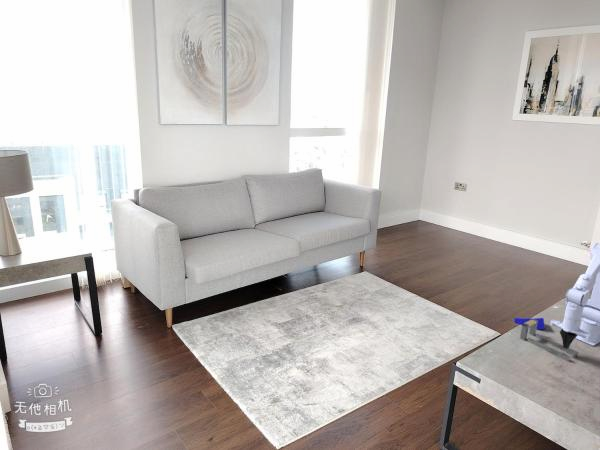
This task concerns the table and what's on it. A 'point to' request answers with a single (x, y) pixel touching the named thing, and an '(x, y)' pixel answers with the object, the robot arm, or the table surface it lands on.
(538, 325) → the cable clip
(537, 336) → the guide channel
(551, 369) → the table surface
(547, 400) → the table surface
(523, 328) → the bracket
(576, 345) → the table surface
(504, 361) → the table surface
